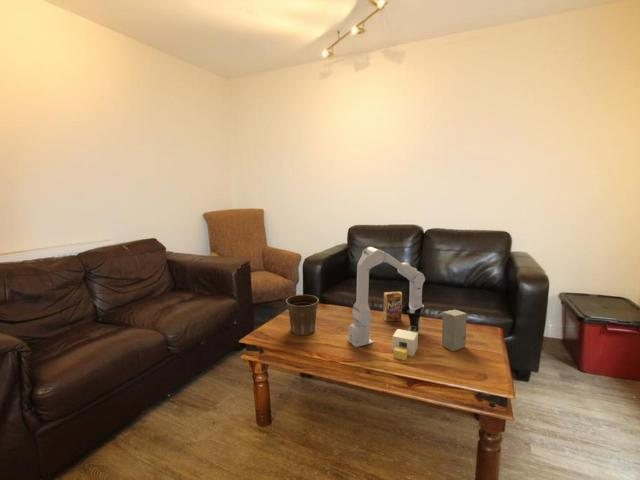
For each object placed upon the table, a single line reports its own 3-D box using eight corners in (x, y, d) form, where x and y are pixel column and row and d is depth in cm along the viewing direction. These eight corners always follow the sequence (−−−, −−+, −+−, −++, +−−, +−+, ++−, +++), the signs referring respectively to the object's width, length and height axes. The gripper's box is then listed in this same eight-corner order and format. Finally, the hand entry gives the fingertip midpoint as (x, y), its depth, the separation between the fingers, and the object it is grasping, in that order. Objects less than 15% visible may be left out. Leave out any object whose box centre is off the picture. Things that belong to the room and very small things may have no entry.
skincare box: (453, 352, 137) (454, 316, 134) (440, 345, 143) (441, 311, 140) (466, 347, 140) (468, 313, 138) (453, 340, 147) (454, 307, 144)
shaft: (409, 348, 137) (409, 336, 137) (400, 346, 139) (400, 334, 139) (419, 329, 156) (419, 318, 155) (411, 327, 158) (411, 317, 157)
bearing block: (413, 356, 134) (413, 340, 133) (392, 351, 138) (392, 336, 137) (417, 347, 141) (418, 332, 140) (397, 343, 145) (397, 328, 144)
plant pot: (322, 335, 154) (322, 303, 152) (289, 339, 151) (288, 307, 148) (315, 322, 170) (314, 293, 168) (285, 325, 166) (284, 296, 164)
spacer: (407, 357, 133) (405, 360, 131) (395, 354, 136) (393, 357, 133) (407, 349, 133) (405, 352, 130) (395, 346, 135) (393, 349, 133)
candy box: (385, 321, 169) (386, 294, 167) (383, 318, 173) (383, 291, 171) (401, 320, 170) (402, 293, 168) (398, 317, 174) (399, 290, 172)
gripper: (421, 301, 144) (420, 329, 146) (427, 292, 157) (426, 318, 159) (405, 299, 148) (404, 326, 150) (412, 290, 160) (411, 316, 162)
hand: (414, 322), depth 155 cm, fingers open, 7 cm apart
